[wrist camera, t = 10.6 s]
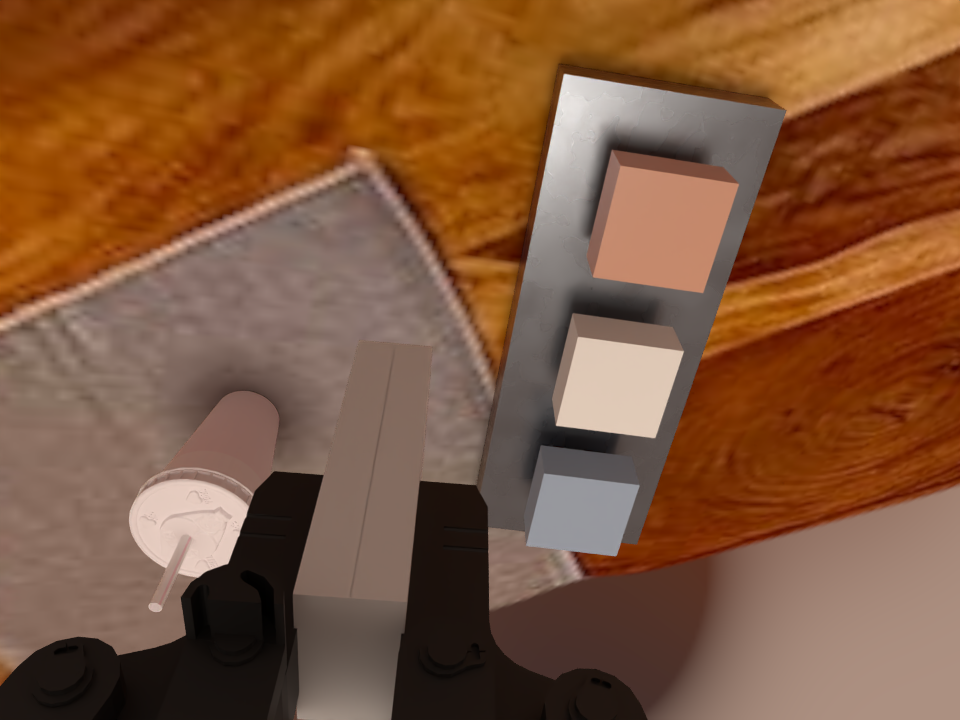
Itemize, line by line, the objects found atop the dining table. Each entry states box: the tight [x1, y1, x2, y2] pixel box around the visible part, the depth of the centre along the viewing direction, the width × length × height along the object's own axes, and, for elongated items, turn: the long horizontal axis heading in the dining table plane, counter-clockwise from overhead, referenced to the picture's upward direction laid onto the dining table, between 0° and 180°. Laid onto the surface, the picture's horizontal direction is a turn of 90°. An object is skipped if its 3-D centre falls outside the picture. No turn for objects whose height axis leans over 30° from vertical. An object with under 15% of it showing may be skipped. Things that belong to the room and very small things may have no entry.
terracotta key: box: [586, 150, 739, 293], centre depth 35 cm, size 5×5×5 cm
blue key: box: [524, 445, 640, 556], centre depth 43 cm, size 5×5×5 cm
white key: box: [552, 313, 684, 438], centre depth 39 cm, size 5×5×5 cm
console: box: [477, 64, 786, 544], centre depth 41 cm, size 26×10×2 cm, turn 171°
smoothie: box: [129, 391, 279, 612], centre depth 39 cm, size 6×6×14 cm
